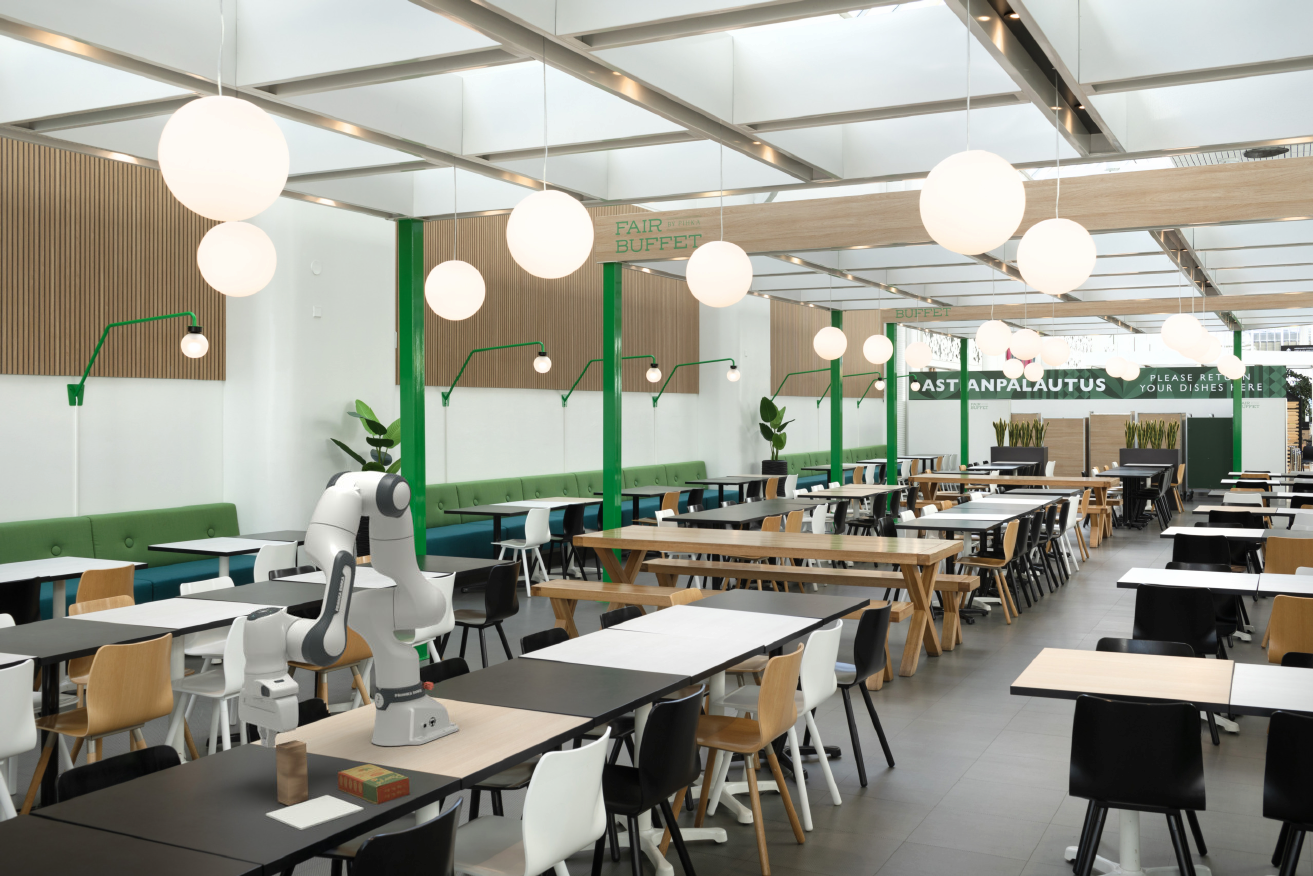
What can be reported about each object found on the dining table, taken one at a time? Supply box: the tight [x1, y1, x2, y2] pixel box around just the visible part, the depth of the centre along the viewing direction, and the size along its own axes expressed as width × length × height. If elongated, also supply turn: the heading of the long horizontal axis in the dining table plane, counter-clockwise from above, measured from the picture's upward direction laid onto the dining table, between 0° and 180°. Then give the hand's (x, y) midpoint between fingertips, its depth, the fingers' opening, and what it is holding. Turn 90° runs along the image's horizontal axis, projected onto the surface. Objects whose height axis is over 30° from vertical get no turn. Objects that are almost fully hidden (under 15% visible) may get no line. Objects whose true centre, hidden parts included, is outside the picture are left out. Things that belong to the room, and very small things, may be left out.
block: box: [275, 739, 309, 807], centre depth 221 cm, size 4×4×12 cm
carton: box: [337, 763, 410, 805], centre depth 225 cm, size 8×16×4 cm, turn 47°
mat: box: [265, 794, 365, 831], centre depth 213 cm, size 14×14×1 cm
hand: (268, 746), depth 227 cm, fingers closed
